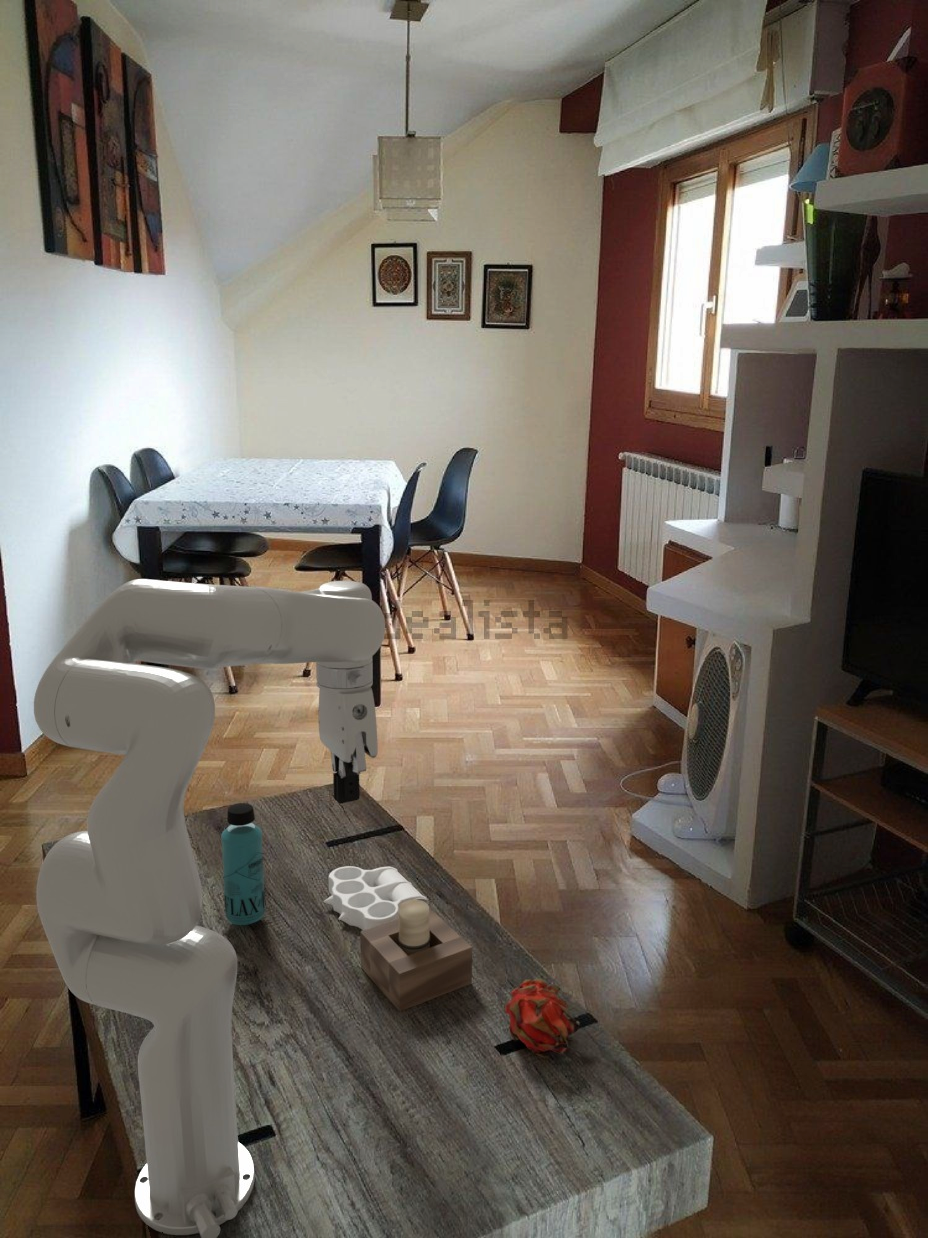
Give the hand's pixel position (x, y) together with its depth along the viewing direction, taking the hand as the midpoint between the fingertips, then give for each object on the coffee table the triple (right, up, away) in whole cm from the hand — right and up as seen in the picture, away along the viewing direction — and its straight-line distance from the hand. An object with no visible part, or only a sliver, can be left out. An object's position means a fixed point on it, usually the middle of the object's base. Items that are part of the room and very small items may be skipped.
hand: (346, 799), depth 138 cm
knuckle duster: (+1, -22, +25) cm, 33 cm away
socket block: (+9, -27, +7) cm, 29 cm away
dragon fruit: (+26, -31, -7) cm, 41 cm away
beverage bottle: (-18, -23, +20) cm, 35 cm away
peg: (+9, -26, +7) cm, 28 cm away
